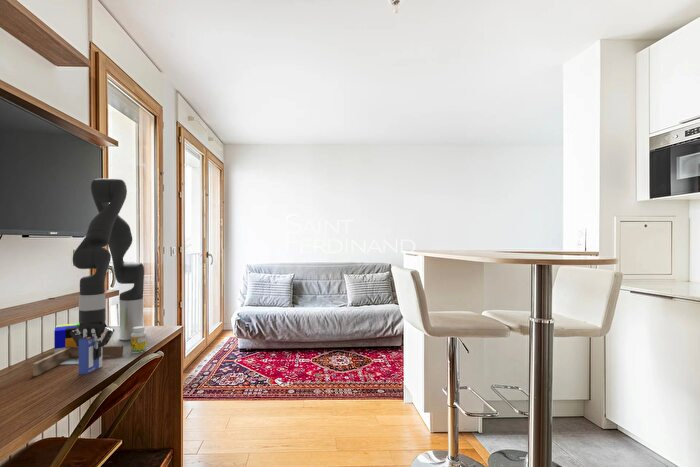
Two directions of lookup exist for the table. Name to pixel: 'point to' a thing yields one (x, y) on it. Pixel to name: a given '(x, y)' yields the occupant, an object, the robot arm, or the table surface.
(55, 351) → the puzzle toy
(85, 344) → the walkman
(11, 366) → the table surface
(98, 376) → the table surface
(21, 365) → the table surface
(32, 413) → the table surface
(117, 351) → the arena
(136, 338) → the supplement bottle
